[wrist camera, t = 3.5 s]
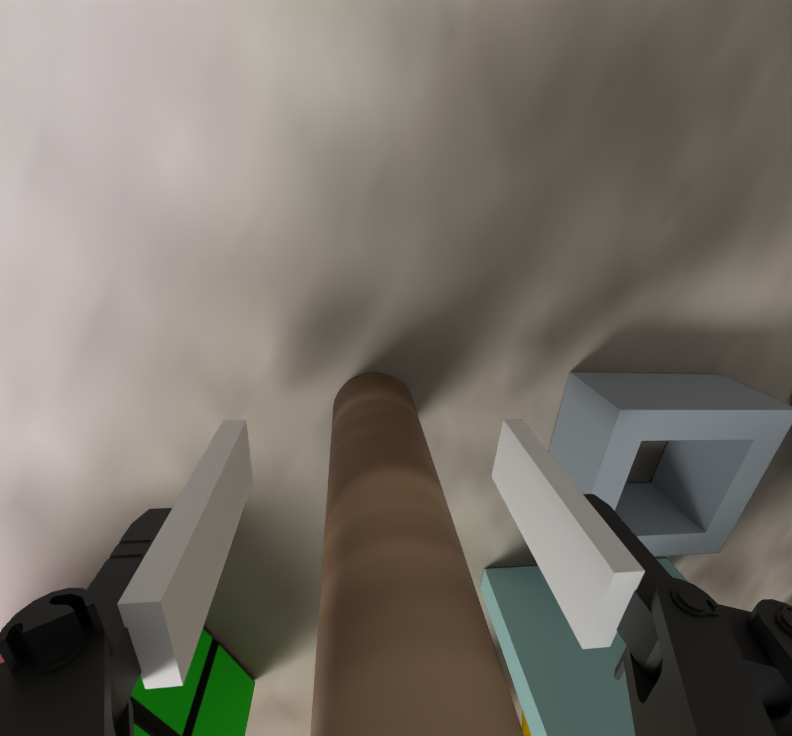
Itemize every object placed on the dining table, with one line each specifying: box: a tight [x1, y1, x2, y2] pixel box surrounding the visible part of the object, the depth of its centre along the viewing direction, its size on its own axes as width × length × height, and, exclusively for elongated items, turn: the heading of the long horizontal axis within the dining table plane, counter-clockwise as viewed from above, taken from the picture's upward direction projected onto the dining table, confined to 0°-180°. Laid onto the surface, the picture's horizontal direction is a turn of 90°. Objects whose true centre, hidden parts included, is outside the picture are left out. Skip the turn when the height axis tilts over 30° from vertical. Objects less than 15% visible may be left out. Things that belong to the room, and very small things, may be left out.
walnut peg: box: [311, 373, 524, 736], centre depth 11 cm, size 4×4×13 cm
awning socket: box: [480, 372, 792, 736], centre depth 13 cm, size 14×14×16 cm
